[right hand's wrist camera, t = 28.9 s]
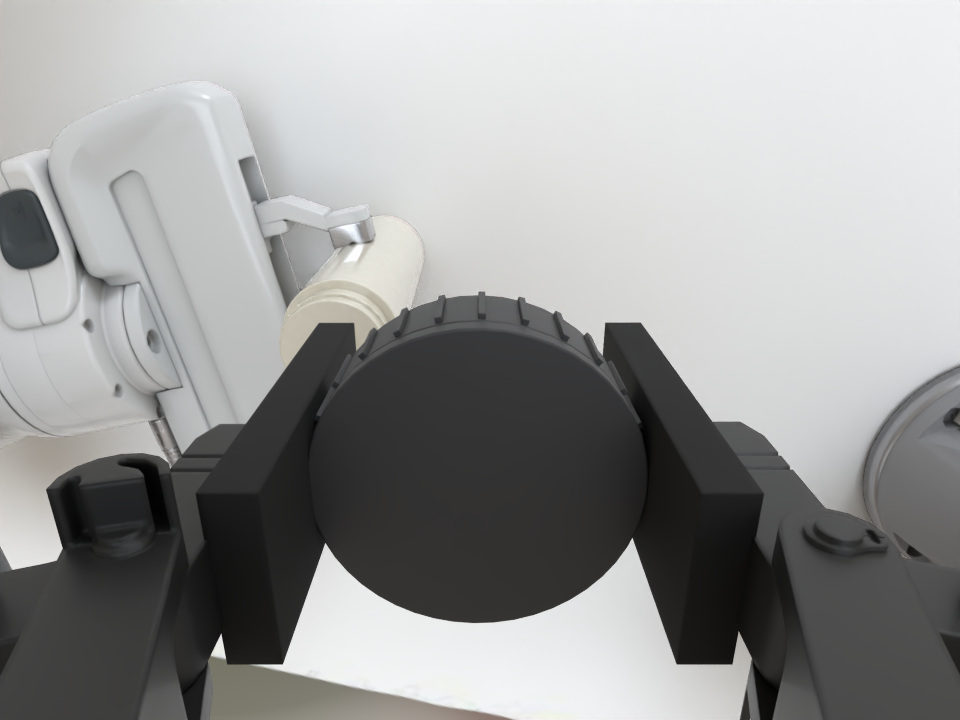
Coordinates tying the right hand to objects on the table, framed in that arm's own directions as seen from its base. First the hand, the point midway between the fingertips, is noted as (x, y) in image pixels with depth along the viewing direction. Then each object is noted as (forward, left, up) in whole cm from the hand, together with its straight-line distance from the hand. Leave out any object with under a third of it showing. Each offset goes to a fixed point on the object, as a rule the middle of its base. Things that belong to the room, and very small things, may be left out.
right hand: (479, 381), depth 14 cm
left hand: (-2, +4, -17) cm, 18 cm away
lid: (0, 0, +4) cm, 4 cm away
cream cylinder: (-3, +5, -24) cm, 24 cm away
